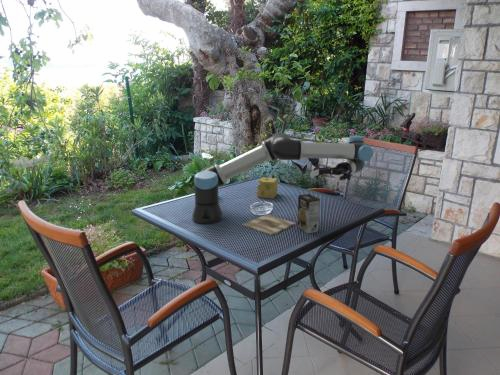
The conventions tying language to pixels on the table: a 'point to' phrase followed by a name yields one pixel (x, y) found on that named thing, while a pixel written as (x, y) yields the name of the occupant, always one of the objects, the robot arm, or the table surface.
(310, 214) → the coffee box
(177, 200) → the table surface
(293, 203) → the table surface
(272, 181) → the cheese
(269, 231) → the board
